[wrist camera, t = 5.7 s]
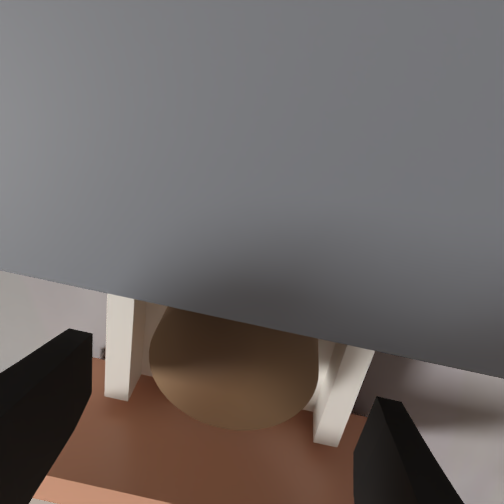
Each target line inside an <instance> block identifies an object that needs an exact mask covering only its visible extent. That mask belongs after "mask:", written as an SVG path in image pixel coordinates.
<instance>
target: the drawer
mask: <svg viewBox="0 0 504 504" xmlns="http://www.w3.org/2000/svg"><path fill="white" fill-rule="evenodd" d="M166 308H167V306H164V305H159V304H155V303H150V302H145V301H141V300H136V299H131V298H127V297H122V296H117V295H113V294H108V293H107V321H106V356H105V360H102V359H98V358H93V357H92V394H91V396H90V398H89V401H88V403H87V405H86V407H85V409H84V411H83V414H82V416H81V418H80V420H79V422H78V424H77V426H76V428H75V430H74V432H73V433H72V435H71V437H70V438H69V440H68V442H67V443H66V445H65V446H64V448H63V450H62V451H61V453H60V454H59V456H58V458H57V459H56V461H55V463H54V464H53V466H52V467H51V469H50V470H49V472H48V474H47V475H46V477H45V478H44V480H43V482H42V483H41V485H40V486H39V488H38V490H37V491H36V493H35V494H34V496H33V497H32V498H35V499H40V500H44V501H49V502H53V503H57V504H354V495H353V452H354V449H355V447H356V444H357V442H358V440H359V437H360V435H361V433H362V430H363V428H364V425H365V423H366V421H367V418H368V417H363V416H359V415H354V414H351V411H352V409H353V406H354V403H355V401H356V398H357V396H358V393H359V391H360V388H361V386H362V383H363V380H364V378H365V375H366V373H367V370H368V368H369V365H370V363H371V360H372V357H373V355H374V352H375V351H373V350H369V349H364V348H359V347H355V346H350V345H345V344H341V343H336V342H331V341H327V340H322V339H318V356H319V376H318V383H317V387H316V390H315V392H314V394H313V396H312V398H311V399H310V401H309V402H308V404H307V405H306V406H305V407H304V408H303V409H302V410H301V411H300V412H299V413H298V414H296V415H295V416H294V417H292V418H290V419H289V420H287V421H285V422H283V423H281V424H278V425H275V426H272V427H269V428H264V429H258V430H241V431H240V430H229V429H224V428H219V427H215V426H211V425H208V424H206V423H203V422H200V421H198V420H196V419H194V418H192V417H190V416H189V415H187V414H185V413H184V412H182V411H181V410H180V409H178V408H177V407H176V406H174V405H173V404H172V403H171V402H170V401H169V400H168V399H167V398H166V397H165V395H164V394H163V393H162V392H161V390H160V389H159V387H158V386H157V384H156V382H155V380H154V378H153V375H152V372H151V369H150V363H149V348H150V342H151V340H152V337H153V334H154V332H155V330H156V328H157V326H158V324H159V322H160V320H161V318H162V316H163V314H164V312H165V310H166Z"/></svg>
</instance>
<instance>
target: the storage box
mask: <svg viewBox="0 0 504 504" xmlns="http://www.w3.org/2000/svg"><path fill="white" fill-rule="evenodd" d="M0 270H1V271H6V272H10V273H15V274H20V275H24V276H29V277H34V278H38V279H43V280H48V281H52V282H57V283H62V284H66V285H71V286H75V287H80V288H85V289H89V290H94V291H99V292H103V293H108V294H113V295H117V296H122V297H127V298H131V299H136V300H141V301H145V302H150V303H155V304H159V305H164V306H169V307H173V308H178V309H182V310H187V311H192V312H196V313H201V314H206V315H210V316H215V317H220V318H224V319H229V320H234V321H238V322H243V323H248V324H252V325H257V326H262V327H266V328H271V329H276V330H280V331H285V332H289V333H294V334H299V335H303V336H308V337H313V338H317V339H322V340H327V341H331V342H336V343H341V344H345V345H350V346H355V347H359V348H364V349H369V350H373V351H378V352H383V353H387V354H392V355H396V356H401V357H406V358H410V359H415V360H420V361H424V362H429V363H434V364H438V365H443V366H448V367H452V368H457V369H462V370H466V371H471V372H476V373H480V374H485V375H490V376H494V377H499V378H504V0H0Z"/></svg>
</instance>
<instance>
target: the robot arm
mask: <svg viewBox="0 0 504 504" xmlns="http://www.w3.org/2000/svg"><path fill="white" fill-rule="evenodd" d="M91 394H92V333H87V332H83V331H78V330H74V329H67V330H66V331H64V332H63V333H61V334H60V335H58V336H56V337H55V338H53V339H52V340H50V341H49V342H47V343H46V344H44V345H43V346H41V347H40V348H38V349H37V350H35V351H34V352H32V353H31V354H29V355H28V356H26V357H25V358H23V359H22V360H20V361H19V362H17V363H16V364H14V365H12V366H11V367H9V368H8V369H6V370H5V371H3V372H1V373H0V504H29V502H30V501H31V499H32V497H33V496H34V494H35V493H36V491H37V490H38V488H39V486H40V485H41V483H42V482H43V480H44V478H45V477H46V475H47V474H48V472H49V470H50V469H51V467H52V466H53V464H54V463H55V461H56V459H57V458H58V456H59V454H60V453H61V451H62V450H63V448H64V446H65V445H66V443H67V442H68V440H69V438H70V437H71V435H72V433H73V432H74V430H75V428H76V426H77V424H78V422H79V420H80V418H81V416H82V414H83V411H84V409H85V407H86V405H87V403H88V401H89V398H90V396H91ZM353 495H354V504H464V503H463V501H462V500H461V498H460V497H459V495H458V494H457V492H456V491H455V489H454V488H453V486H452V484H451V483H450V481H449V480H448V478H447V477H446V475H445V474H444V472H443V470H442V469H441V467H440V466H439V464H438V462H437V461H436V459H435V458H434V456H433V454H432V453H431V451H430V449H429V448H428V446H427V444H426V443H425V441H424V439H423V438H422V436H421V434H420V433H419V431H418V429H417V428H416V426H415V424H414V422H413V421H412V419H411V417H410V416H409V414H408V412H407V411H406V409H405V407H404V406H403V404H402V402H399V401H395V400H390V399H385V398H381V397H376V399H375V402H374V404H373V406H372V409H371V411H370V414H369V416H368V418H367V421H366V423H365V425H364V428H363V430H362V433H361V435H360V437H359V440H358V442H357V444H356V447H355V449H354V452H353Z"/></svg>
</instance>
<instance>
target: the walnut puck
mask: <svg viewBox="0 0 504 504" xmlns="http://www.w3.org/2000/svg"><path fill="white" fill-rule="evenodd" d="M149 363H150V369H151V372H152V375H153V378H154V380H155V382H156V384H157V386H158V387H159V389H160V390H161V392H162V393H163V394H164V395H165V397H166V398H167V399H168V400H169V401H170V402H171V403H172V404H173V405H174V406H176V407H177V408H178V409H180V410H181V411H182V412H184V413H185V414H187V415H189V416H190V417H192V418H194V419H196V420H198V421H200V422H203V423H206V424H208V425H211V426H215V427H219V428H224V429H229V430H240V431H241V430H258V429H264V428H269V427H272V426H275V425H278V424H281V423H283V422H285V421H287V420H289V419H290V418H292V417H294V416H295V415H296V414H298V413H299V412H300V411H301V410H302V409H303V408H304V407H305V406H306V405H307V404H308V402H309V401H310V399H311V398H312V396H313V394H314V392H315V390H316V387H317V383H318V376H319V356H318V339H317V338H313V337H308V336H303V335H299V334H294V333H289V332H285V331H280V330H276V329H271V328H266V327H262V326H257V325H252V324H248V323H243V322H238V321H234V320H229V319H224V318H220V317H215V316H210V315H206V314H201V313H196V312H192V311H187V310H182V309H178V308H173V307H169V306H167V308H166V310H165V312H164V314H163V316H162V318H161V320H160V322H159V324H158V326H157V328H156V330H155V332H154V334H153V337H152V340H151V342H150V348H149Z"/></svg>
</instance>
